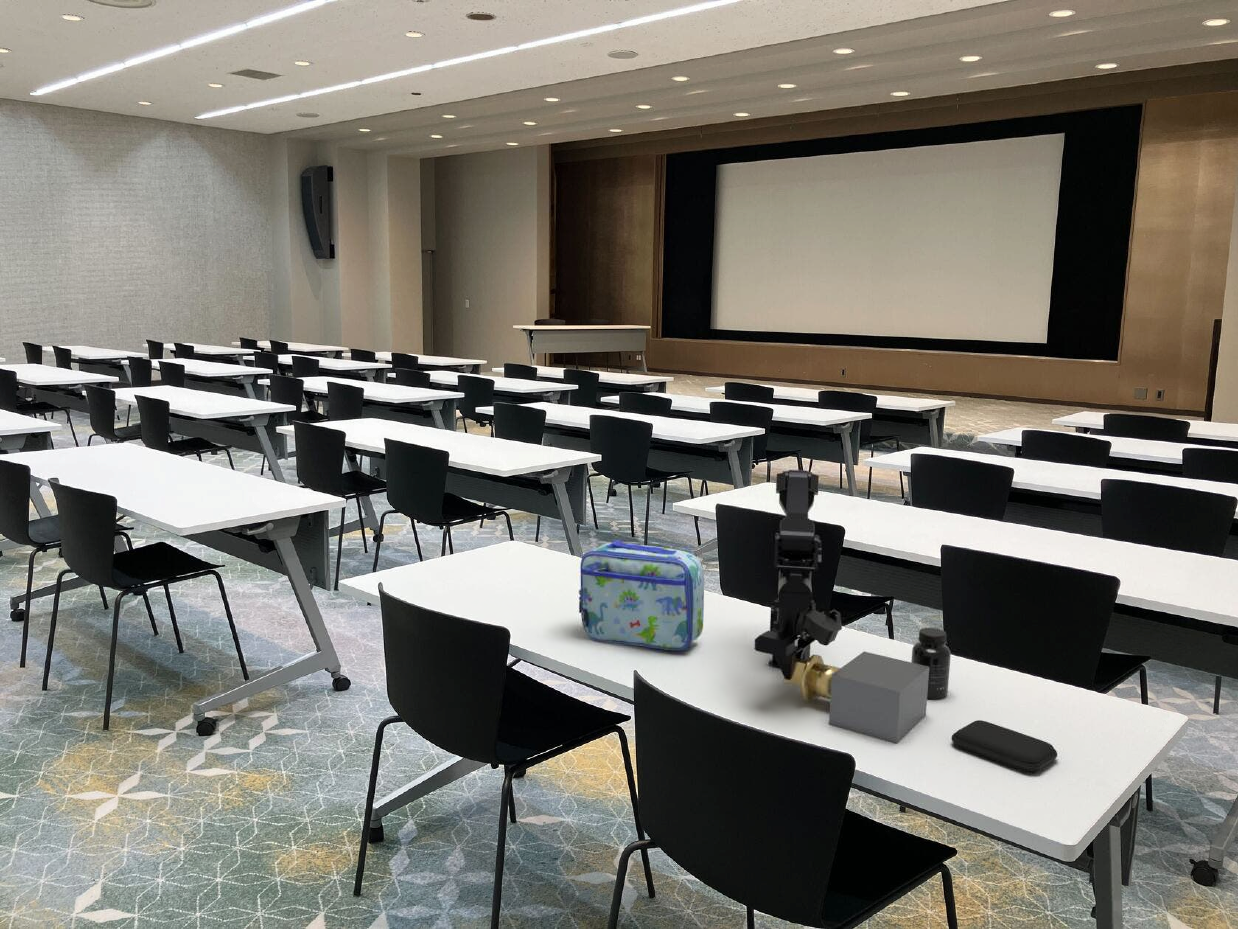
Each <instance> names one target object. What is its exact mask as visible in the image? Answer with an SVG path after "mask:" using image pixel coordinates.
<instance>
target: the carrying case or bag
mask: <svg viewBox="0 0 1238 929" xmlns="http://www.w3.org/2000/svg"><path fill="white" fill-rule="evenodd" d="M951 742H952V743H953V744H954V746H955V747H956V748H958V749H959V750H962V751H965V752H966V753H969V754H972V755H974V756H977V757H980V758H983V759H985V760H988V761H990V762H994V763H996V764H999V765H1001V766H1004V767H1007V768H1009V769H1012V770H1015V771H1018V772H1021V773H1025V774H1029V775H1031V774H1035V773H1037V772H1038V771H1040V770H1041V769H1043V768H1045V767H1046V766H1047V765H1049V764H1050V763H1051V762H1053V761H1054V760H1056V759H1057V758H1058V751H1057V750H1056V749H1055V747H1054V746H1053V744H1051V743H1049V742H1048V741H1045V740H1041V739H1039V738H1036V737H1033V736H1031V735H1027V734H1025V733H1021V732H1018V731H1017V730H1016V731H1015V730H1013V729H1010V728H1007V727H1004V726H1001V725H997V724H995V723H992V722H988V721H985V720H980V719H979V720H975V721H972V722H971V723H969V724H967V725H966V726H964V727H962V728H960V729H958V730H956V731H955V732H954V733H953V734H952V735H951Z"/></svg>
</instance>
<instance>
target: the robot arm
mask: <svg viewBox="0 0 1238 929" xmlns="http://www.w3.org/2000/svg"><path fill="white" fill-rule="evenodd" d="M819 479H820V476H819V475H818V474H815V473H813V472H811V471H809V470H806V469H805V470H802V469H801V470H800V469H788V470H782V472H779V473H776V484H775V494H779V495H778V496H779V497H778V503H779V505H780V508H781V510H782V511H783V513H784V515H785V517H784V518H782V520H780V522H779V532H775V535H774V536H775V538H774V540H775V541H774V559H773V560H774V563H773V570H776V571H777V570H778V590H777V591H778V592H777V593H776V595H775V596H774V601H773V606H770V616H769V618H770V619H769V621H770V622H769V630H767V631H765V632H763V633H762V634H759V635H758V636H757V637H756V638H755V639H754V650H755V651H756V652H759V653H763V654H768V655H771V657H772V658H771V659H770V660H769V661H767V662H768V665H769V666H772V667H777V668H779V669H780V672H781V673H782V676H784V678H785V679H787V680H790V679H791V677H792V672H793V666H794V661H795V657H797V658H801V659H805V660H808V659H809V658H810V657H811V644H812V643H814V642H815V641H817V642H818V644H819V645H822V646H828V645H830V644H831V643H832V642H835V640H836V639H837V636H838V634H839V632H840V631H841V630H842V629H843V626H842V624H843V622H842V620H841V617H842V616H841V613H840V612H839V611H837V610H836V609H832V610H831V611H829V612H828V613H826V614H825V611H822V612H820V611H819V610H816V603H815V600H813V593H812V592H813V591H812V590H813V588H812V573H817V572H818V569H819V566H820V567H821V566H822V550H823V549H822V548H823V547H822V545H823V544H822V543H823V542H822V541H821V540H820V536H819V535H818V534H816V533H815V528H816V527H815V523H814V522H813V520H812V519H810V518H809V512H810V510H811V509H812V508H813V506H814V502H815V496H818V495H819V482H820V481H819ZM778 559H779V561H778ZM813 560H814V562H813ZM813 563H814V564H813Z"/></svg>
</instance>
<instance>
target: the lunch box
mask: <svg viewBox="0 0 1238 929" xmlns="http://www.w3.org/2000/svg"><path fill="white" fill-rule="evenodd" d="M579 569H580V589H579V590H578V594H579V596H578V600H579V602H578V613H579V614H580V615H581V616H580V617H581V622H582V627H583V629H584V631H585V633H586V635H587V637H588V638H589V639H591V640H592V641H594V642H606V643H607V642H608V643H615V644H616V643H617V644H623V645H630V646H635V647H637V646H638V647H644V648H650V649H658V650H665V651H675V652H676V651H677V652H682V651H685V650H687V649H688V648H689V647H690V645H691V644H692V643H693V642H694V641H695V640H697V639H699V637H700V636H701V634H702V633H703V630H704V612H705V611H704V609H705V608H704V607H705V603H704V602H705V601H704V600H705V591H704V590H705V588H704V586H705V572H704V567H703V564H702V563H701V561H700V559H699V558H698V557H697V556H696V555H694V554H692V553H690V552H688V551H684V550H681V549H680V550H679V549H675V548H670V547H661V546H654V545H643V544H633V543H624V542H623V541H621V540H618V539H616V540H615V541H613V542H607V543H604V544H602V545H600V546H598V547H596V548H595V549H593V550H590V551H588V552H585V553H584V554H583V555H582V557H581V560H580V568H579Z"/></svg>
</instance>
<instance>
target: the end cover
mask: <svg viewBox="0 0 1238 929" xmlns="http://www.w3.org/2000/svg"><path fill="white" fill-rule="evenodd" d="M824 662H825V661H824V659H823V657H822V656H821V655H819V654H812V655H810V658H809V659H808V660H805V659H801V658H797V657H795V661H794V666H793V672H792V677H791V679H790V680H787V679H785V678H784V676H783V675H782V676H783V680H782V682H784V683H788V684H790V685H791V684H792V685H796V686H799V687H800V693H801V697H802V699H803V700H804V701H805V702H813V701H814V700H815V699H816V698H817V697H820V698H823V699H827V700H830V698H831V679H832V674H833V673H835V672H836V671H838V670H839V669H840V668H841V667H837V666H835V665H829V664H825V663H824Z"/></svg>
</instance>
